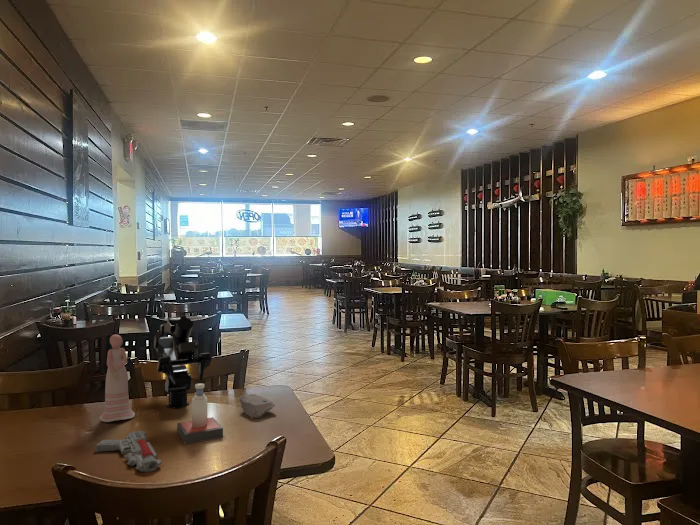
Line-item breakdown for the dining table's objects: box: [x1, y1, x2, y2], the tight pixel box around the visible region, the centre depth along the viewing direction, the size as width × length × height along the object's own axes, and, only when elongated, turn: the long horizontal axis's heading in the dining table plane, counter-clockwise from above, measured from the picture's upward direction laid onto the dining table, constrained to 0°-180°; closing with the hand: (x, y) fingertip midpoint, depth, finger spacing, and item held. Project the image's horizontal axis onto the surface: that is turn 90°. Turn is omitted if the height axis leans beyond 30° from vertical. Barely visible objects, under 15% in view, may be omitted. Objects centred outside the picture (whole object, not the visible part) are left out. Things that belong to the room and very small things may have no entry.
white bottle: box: [191, 382, 208, 428], centre depth 170 cm, size 5×5×14 cm
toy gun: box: [94, 429, 162, 473], centre depth 152 cm, size 4×27×15 cm
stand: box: [176, 417, 224, 445], centre depth 170 cm, size 12×12×3 cm
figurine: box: [99, 334, 136, 423], centre depth 186 cm, size 13×13×30 cm
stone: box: [238, 393, 276, 419], centre depth 193 cm, size 13×10×6 cm
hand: (188, 382), depth 184 cm, fingers open, 9 cm apart
